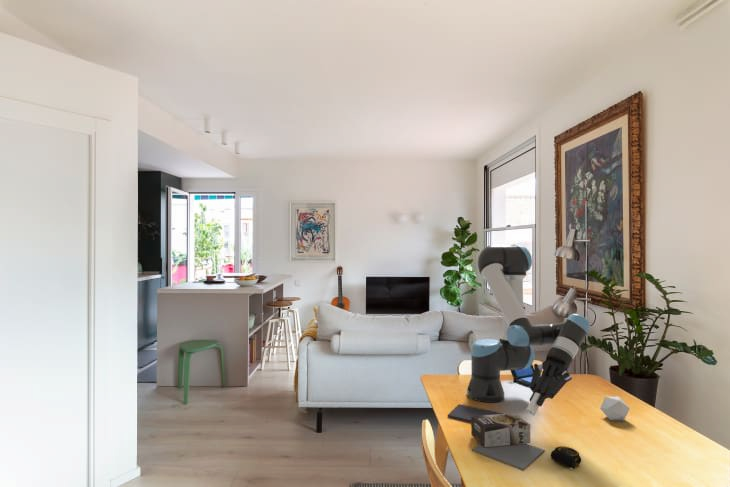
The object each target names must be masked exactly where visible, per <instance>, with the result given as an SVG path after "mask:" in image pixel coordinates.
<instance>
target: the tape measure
mask: <svg viewBox="0 0 730 487" xmlns="http://www.w3.org/2000/svg"><path fill="white" fill-rule="evenodd" d="M550 458H551V460H552V461H553V462H555V463H558V464H559V465H563V467H564V466H565V467H567V468H569V469H571V470H574V469H575V468H576V467H579V465H580V464H581V463H582V457H581V455H580V453H579V451H577V449H575V448H572V447H569V446H563V445H561V446H557V447H555V448H554V450H552V451H551V452H550Z"/></svg>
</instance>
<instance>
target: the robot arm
mask: <svg viewBox="0 0 730 487" xmlns="http://www.w3.org/2000/svg"><path fill="white" fill-rule="evenodd" d="M477 258H478V259H477V269H478V272H479V274H480V276H481V278H483V279H484V280H486V282H487V285H488V287H489V289H490V291H491V293H492V294H493V298H494V299H495V301H496V303H497V305H498V307H499V309H500V311H501V313H502V335H501V334H500V336H499V339H498V340H497V339H493V338H489V339H487V338H483V339H478V340H475V341H474V342H473V343H472V344H471V351H470V354H471V375H470V376H471V377H470V380H469V383H468V386H467V391H466V392H467V393H466V394H468V395H467V396H468V397H469V398H470V397H471V398H470V399H472V398H473V399H472V400H474V399H476V400H475V401H477V400H480V401H479V402H482V401H485V402H484V403H499V401H500V402H503V401H504V399H505V391H504V387H503V385H502V382H501V372H502V371H510V370H522V369H527V368H529V367H530V366H531V365H533V368H534V373H533V377H532V380H531V384H530V387H529V389H530V390H531V391H532V394H531V396H530V397H529V403H528V406H526V410H527V412H528V413H529V415H532V416H535V415H536V413H537V411H538V409H539V407H542V406H543V404H544V402H545V401H546V399H551V400H553V399H554V398H555V397H556V396H557V394H558V393H559V392H560V391H561V389H563V387H564V386H565V385H566V384H567V383H568V382H570V381H572V379H573V377H572V376H571V374H570V373H569V372H568V369H569V368H570V367H571V365H572V363H573V360H574V359H575V356H576V355H577V353H578V351H579V349H580V348H581V346H582V343H583V342H584V340H585V339H586V337H587V335H588V332H589V329H590V327H591V323H590V321H589V320H588V319H587V318H586V317H585V316H583V315H581V314H578V313H572V314H569V316H568V317H567V318H566V319H565V321H562V322H558V323H547V324H546V323H544V324H531V322H530V320H529V318H528V316H527V314H526V312H525V310H524V286H523V284H524V279H525V278H526V277H527V272H528V271H530V269H531V267H532V266H533V259H532V254H531V253H530V250H528V248H527V247H526V246H523V245H517V244H490V245H488V246H485V247H484V248H483V249H482V250H481V251H480V253H479V255H478V257H477ZM533 346H551V348H549V351H548V352H547V354H546V359H545V360H543V361H542V363H540V364H538V363H535V364H533V363H534V361H535V349H534V347H533Z"/></svg>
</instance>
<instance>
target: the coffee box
mask: <svg viewBox="0 0 730 487" xmlns="http://www.w3.org/2000/svg"><path fill="white" fill-rule="evenodd" d="M470 425H471V426H470V427H471V434H470V435H471V436H472V437H473V438H474V439H475V440H476V441H477V442H478V443H479V444H481V445H483V446H484V447H494V446H505V445H516V444H531V428H532V426H531V423H529V422H528V421H526V420H525V419H523V417H520V416H519V415H518V414H516V413H515V412H511V413H504V414H496V415H483V416H471V423H470Z"/></svg>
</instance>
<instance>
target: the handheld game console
mask: <svg viewBox="0 0 730 487" xmlns="http://www.w3.org/2000/svg"><path fill="white" fill-rule="evenodd" d="M534 370H535V369H534V364H532V365H531V366H530V367H529V368H527V369H522V370H509V371H510V373H511V375H512V376H511V377H512V379H513V380H512V381H513V382H514V381H516V382H515V383H517V382H518V383H517V384H519V383H521V384H520V385H522V384H523V385H522V386H525V385H526V386H525V387H528V386H530V384H531V380H532V377H533V373H534Z"/></svg>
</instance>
